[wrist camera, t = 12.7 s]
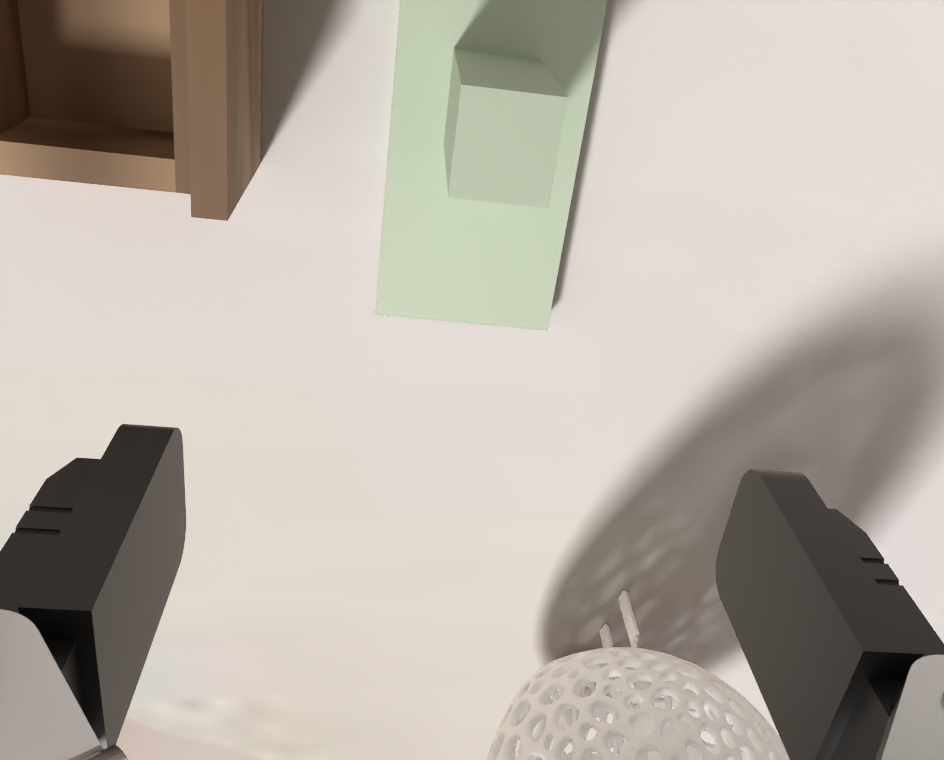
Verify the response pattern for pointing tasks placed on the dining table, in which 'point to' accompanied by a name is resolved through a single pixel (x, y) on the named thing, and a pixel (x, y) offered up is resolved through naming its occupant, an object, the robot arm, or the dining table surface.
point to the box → (134, 95)
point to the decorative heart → (631, 709)
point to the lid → (484, 156)
